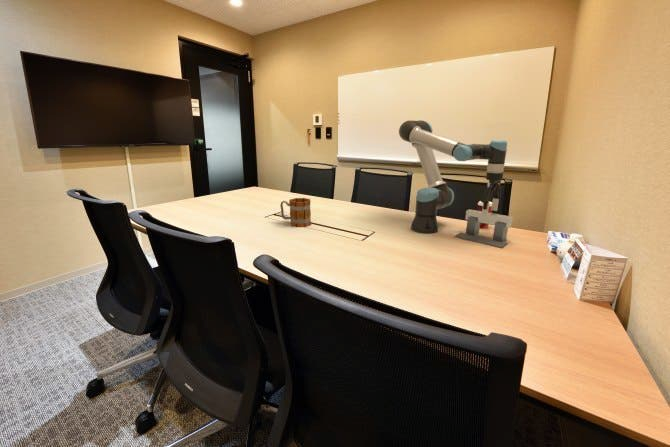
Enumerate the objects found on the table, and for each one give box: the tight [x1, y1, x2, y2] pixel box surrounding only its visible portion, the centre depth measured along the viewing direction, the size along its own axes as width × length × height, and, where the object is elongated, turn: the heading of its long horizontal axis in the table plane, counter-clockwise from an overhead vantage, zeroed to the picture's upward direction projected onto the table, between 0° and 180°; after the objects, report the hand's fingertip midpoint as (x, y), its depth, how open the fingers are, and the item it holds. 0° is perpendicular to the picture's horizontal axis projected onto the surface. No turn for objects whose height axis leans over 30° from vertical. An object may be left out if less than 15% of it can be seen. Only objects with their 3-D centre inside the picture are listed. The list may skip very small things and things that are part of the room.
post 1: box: [465, 217, 481, 236], centre depth 170 cm, size 4×7×10 cm, turn 135°
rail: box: [464, 208, 514, 229], centre depth 164 cm, size 22×4×5 cm, turn 45°
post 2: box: [492, 222, 509, 242], centre depth 161 cm, size 4×7×10 cm, turn 135°
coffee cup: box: [477, 200, 493, 229], centre depth 182 cm, size 8×8×15 cm
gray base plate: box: [454, 232, 508, 249], centre depth 162 cm, size 24×8×1 cm, turn 45°
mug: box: [280, 197, 312, 228], centre depth 189 cm, size 20×14×15 cm
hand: (489, 212), depth 163 cm, fingers open, 13 cm apart
